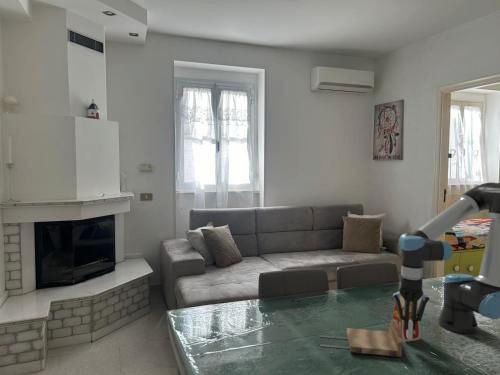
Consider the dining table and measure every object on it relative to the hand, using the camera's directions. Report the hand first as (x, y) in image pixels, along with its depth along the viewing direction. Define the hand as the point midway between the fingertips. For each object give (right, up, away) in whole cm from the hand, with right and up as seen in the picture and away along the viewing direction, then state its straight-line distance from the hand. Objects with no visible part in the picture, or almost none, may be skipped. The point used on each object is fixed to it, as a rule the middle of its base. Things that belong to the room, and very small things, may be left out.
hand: (409, 337), depth 141 cm
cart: (-13, -4, +3) cm, 14 cm away
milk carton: (+3, -4, +12) cm, 13 cm away
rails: (-18, -4, +3) cm, 19 cm away
